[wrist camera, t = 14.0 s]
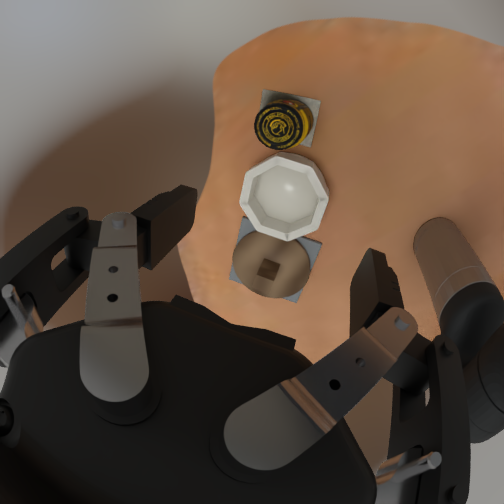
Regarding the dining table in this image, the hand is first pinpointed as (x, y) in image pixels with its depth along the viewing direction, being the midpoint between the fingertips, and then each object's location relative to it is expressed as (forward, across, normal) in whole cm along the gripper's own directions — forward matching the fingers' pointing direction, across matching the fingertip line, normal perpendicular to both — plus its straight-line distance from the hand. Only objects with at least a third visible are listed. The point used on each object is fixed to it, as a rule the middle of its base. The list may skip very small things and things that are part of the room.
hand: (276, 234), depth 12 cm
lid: (+29, +1, +23) cm, 37 cm away
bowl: (+30, +2, +9) cm, 31 cm away
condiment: (+30, +5, -2) cm, 31 cm away
